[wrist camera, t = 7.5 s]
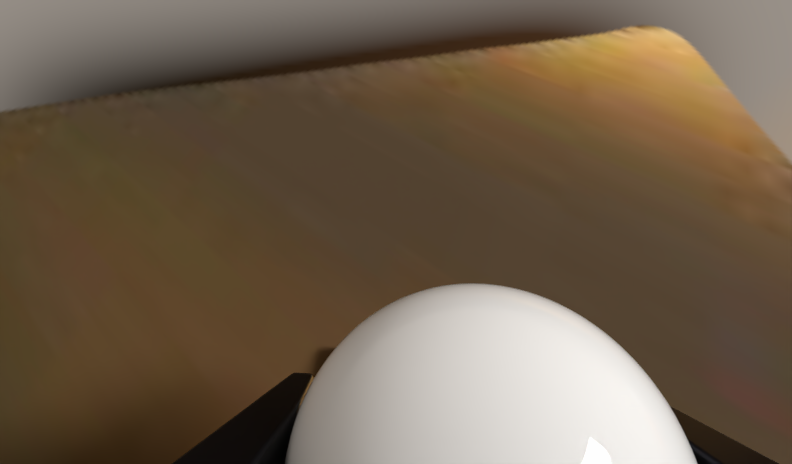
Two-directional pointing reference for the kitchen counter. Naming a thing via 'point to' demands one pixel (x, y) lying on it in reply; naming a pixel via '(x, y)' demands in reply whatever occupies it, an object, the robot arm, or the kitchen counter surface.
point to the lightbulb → (483, 389)
